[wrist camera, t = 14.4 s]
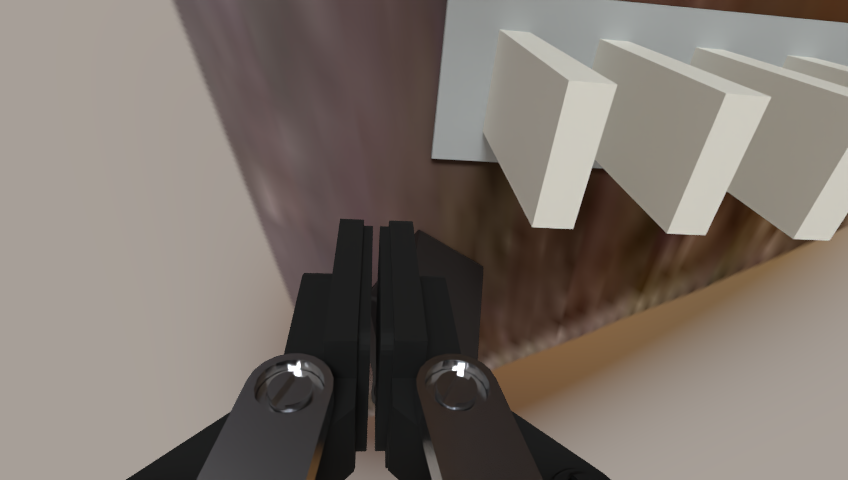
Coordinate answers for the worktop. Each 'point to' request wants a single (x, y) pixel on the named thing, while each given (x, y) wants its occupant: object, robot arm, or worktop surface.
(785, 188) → the domino
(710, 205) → the domino
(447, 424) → the robot arm
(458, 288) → the phone stand
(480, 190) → the worktop surface
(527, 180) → the domino
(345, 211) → the worktop surface
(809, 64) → the domino
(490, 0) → the mat
